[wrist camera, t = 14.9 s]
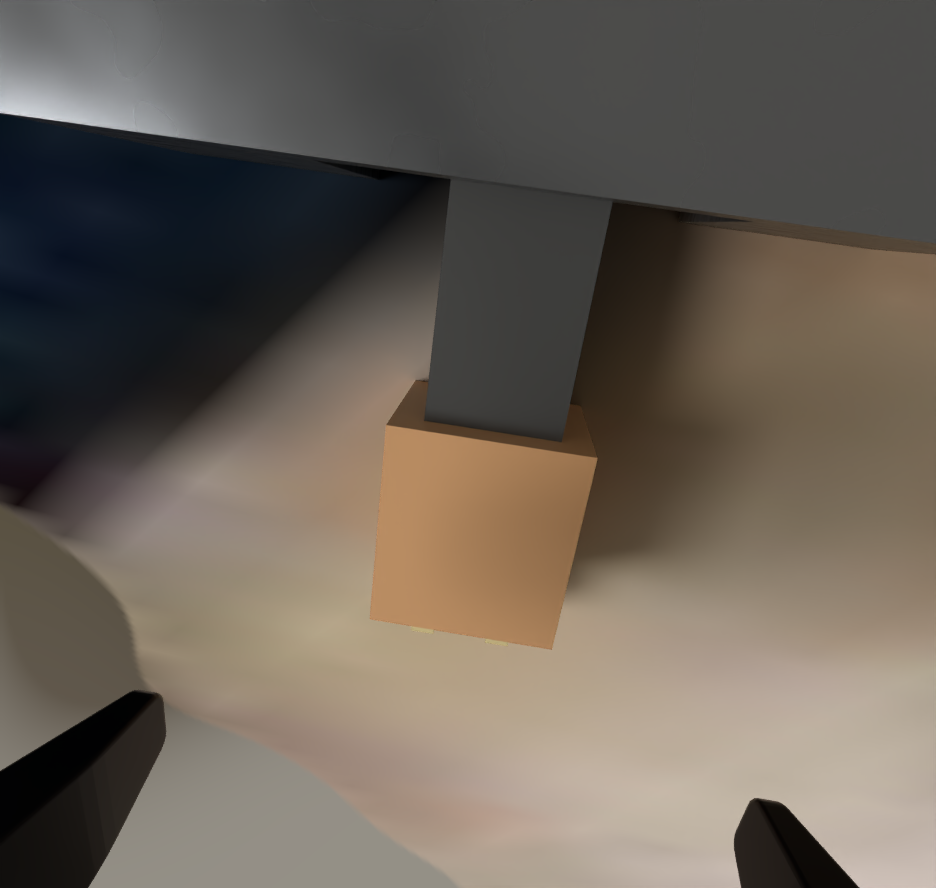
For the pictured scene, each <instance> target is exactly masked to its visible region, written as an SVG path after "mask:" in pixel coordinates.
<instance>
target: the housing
mask: <svg viewBox="0 0 936 888" xmlns="http://www.w3.org/2000/svg"><path fill="white" fill-rule="evenodd" d="M0 114H5V115H10V116H15V117H19V118H24V119H29V120H34V121H39V122H43V123H48V124H53V125H58V126H62V127H67V128H72V129H77V130H82V131H86V132H91V133H96V134H101V135H106V136H110V137H115V138H120V139H125V140H130V141H134V142H139V143H144V144H149V145H154V146H158V147H163V148H168V149H173V150H177V151H182V152H187V153H192V154H199V155H206V156H213V157H220V158H227V159H234V160H241V161H249V162H256V163H263V164H270V165H277V166H284V167H291V168H298V169H305V170H313V171H320V172H327V173H334V174H341V175H348V176H355V177H362V178H369V179H377V180H379V174H380V169H381V170H389V171H396V172H403V173H410V174H417V175H424V176H431V177H439V178H446V179H453V180H460V181H467V182H474V183H481V184H489V185H496V186H503V187H510V188H517V189H524V190H531V191H539V192H546V193H553V194H560V195H567V196H574V197H582V198H589V199H596V200H603V201H610V202H617V203H624V204H632V205H639V206H646V207H653V208H660V209H667V210H674V211H681V212H680V216H679V220H678V222H682V223H690V224H697V225H704V226H711V227H718V228H725V229H732V230H739V231H746V232H754V233H761V234H768V235H775V236H782V237H789V238H796V239H803V240H810V241H818V242H825V243H832V244H839V245H846V246H853V247H860V248H867V249H874V250H886V251H899V252H912V253H925V254H936V0H0Z"/></svg>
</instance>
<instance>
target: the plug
mask: <svg viewBox="0 0 936 888" xmlns="http://www.w3.org/2000/svg"><path fill="white" fill-rule="evenodd" d="M612 203H613V202H610V201H603V200H596V199H589V198H582V197H574V196H567V195H560V194H553V193H546V192H539V191H531V190H524V189H517V188H510V187H503V186H496V185H489V184H481V183H474V182H467V181H460V180H453V179H451V184H450V193H449V202H448V211H447V220H446V229H445V238H444V247H443V256H442V265H441V274H440V283H439V292H438V301H437V310H436V318H435V327H434V336H433V345H432V354H431V363H430V372H429V381H428V382H423V381H415V382H414V384H413V385H412V387H411V388H410V390H409V391H408V393H407V394H406V396H405V397H404V399H403V400H402V402H401V403H400V405H399V406H398V408H397V409H396V411H395V412H394V414H393V416H392V417H391V419H390V420H389V422H388V423H387V425H386V433H385V445H384V457H383V469H382V480H381V492H380V504H379V516H378V528H377V539H376V551H375V563H374V575H373V587H372V598H371V610H370V619H372V620H378V621H384V622H390V623H396V624H402V625H408V626H412V628H411V630H413V631H419V632H425V633H431V634H433V633H434V630H437V631H443V632H449V633H455V634H461V635H467V636H473V637H479V638H485V643H490V644H496V645H502V646H508V642H509V643H515V644H521V645H527V646H533V647H539V648H545V649H551V650H552V647H553V642H554V638H555V634H556V630H557V626H558V622H559V617H560V613H561V609H562V605H563V601H564V597H565V592H566V588H567V584H568V580H569V576H570V572H571V568H572V563H573V559H574V555H575V551H576V547H577V543H578V538H579V534H580V530H581V526H582V522H583V518H584V513H585V509H586V505H587V501H588V497H589V493H590V488H591V484H592V480H593V476H594V472H595V468H596V464H597V459H598V457H597V454H596V451H595V448H594V445H593V442H592V439H591V436H590V433H589V430H588V427H587V424H586V421H585V418H584V415H583V412H582V409H581V406H578V405H572V404H570V401H571V396H572V392H573V387H574V382H575V378H576V373H577V368H578V363H579V359H580V354H581V349H582V345H583V340H584V335H585V330H586V326H587V321H588V316H589V311H590V307H591V302H592V297H593V293H594V288H595V283H596V278H597V274H598V269H599V264H600V260H601V255H602V250H603V245H604V241H605V236H606V231H607V226H608V222H609V217H610V212H611V208H612Z"/></svg>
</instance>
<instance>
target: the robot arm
mask: <svg viewBox="0 0 936 888" xmlns="http://www.w3.org/2000/svg"><path fill="white" fill-rule="evenodd" d="M165 737H166V724H165V713H164V702H163V698H162V696H161V695H160V694H158V693H155V692H149V691H143V690H134V691H132V692H129V693H127V694H125V695H124V696H122V697H120V698H119V699H118V700H116V701H114V702H112V703H111V704H109V705H107V706H106V707H104V708H103V709H101V710H99V711H98V712H96V713H94V714H93V715H92V716H89V717H88V718H86V719H85V720H83V721H81V722H80V723H78V724H77V725H75V726H73V727H71V728H70V729H68V730H66V731H65V732H63V733H62V734H60V735H58V736H57V737H55V738H53V739H52V740H50V741H48V742H47V743H45V744H43V745H42V746H40V747H39V748H37V749H35V750H34V751H32V752H30V753H29V754H27V755H26V756H24V757H22V758H21V759H19V760H17V761H16V762H14V763H12V764H11V765H9V766H7V767H6V768H4V769H2V770H1V771H0V888H88V887H89V886H90V884H91V882H92V881H93V879H94V877H95V876H96V874H97V873H98V871H99V869H100V867H101V866H102V864H103V862H104V861H105V859H106V857H107V855H108V854H109V852H110V850H111V848H112V846H113V844H114V842H115V840H116V838H117V837H118V835H119V833H120V831H121V829H122V827H123V825H124V823H125V821H126V819H127V817H128V815H129V813H130V811H131V809H132V807H133V805H134V803H135V801H136V799H137V797H138V795H139V793H140V791H141V789H142V787H143V785H144V783H145V781H146V779H147V777H148V775H149V773H150V771H151V769H152V767H153V765H154V763H155V761H156V759H157V757H158V755H159V753H160V751H161V749H162V747H163V744H164V741H165ZM734 851H735V857H736V862H737V868H738V873H739V878H740V884H741V888H859V887H858V886H857V885H856V883H855V882H854V881H853V880H852V879H851V878H850V877H849V876H848V875H847V873H846V872H845V871H844V870H843V869H842V868H841V867H840V866H839V865H838V864H837V862H836V861H835V860H834V859H833V858H832V857H831V856H830V855H829V854H828V852H827V851H826V850H825V849H824V848H823V847H822V846H821V845H820V844H819V842H818V841H817V840H816V839H815V838H814V837H813V836H812V835H811V834H810V832H809V831H808V830H807V829H806V828H805V827H804V826H803V825H802V824H801V822H800V821H799V820H798V819H797V818H796V817H795V816H794V815H793V814H792V812H791V811H790V810H789V809H788V808H787V807H786V806H784V805H783V804H782V803H780V802H776V801H771V800H765V799H760V798H754V799H753V800H751V801H750V802H749V804H748V806H747V808H746V810H745V813H744V815H743V817H742V819H741V821H740V823H739V826H738V828H737V830H736V833H735V837H734Z"/></svg>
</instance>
